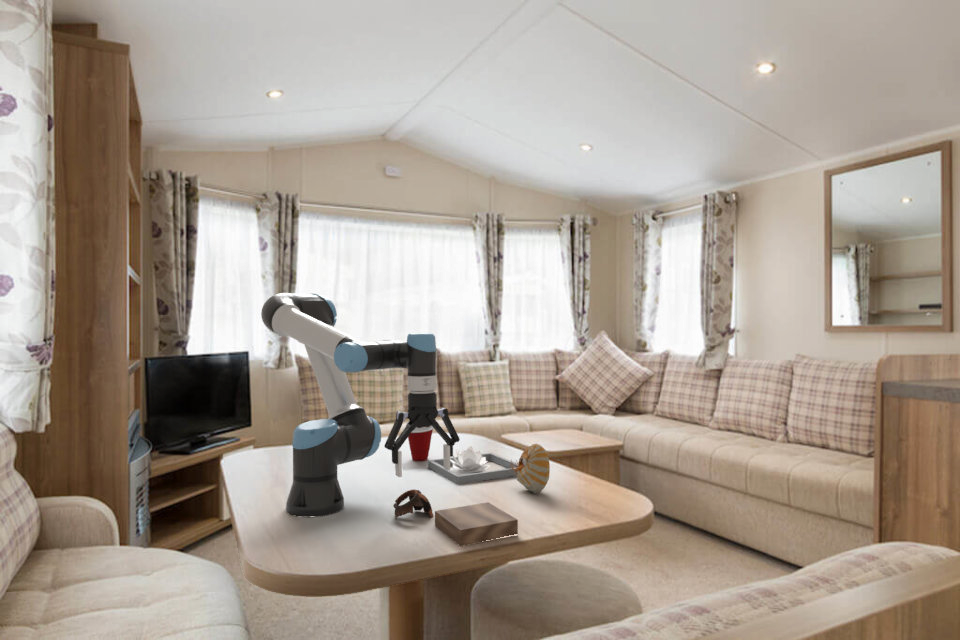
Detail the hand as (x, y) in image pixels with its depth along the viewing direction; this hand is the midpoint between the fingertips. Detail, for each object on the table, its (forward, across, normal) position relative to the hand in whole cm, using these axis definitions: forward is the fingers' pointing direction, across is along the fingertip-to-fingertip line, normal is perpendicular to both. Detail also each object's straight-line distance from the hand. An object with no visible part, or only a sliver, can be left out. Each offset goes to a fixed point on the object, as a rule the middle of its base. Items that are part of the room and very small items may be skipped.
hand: (423, 472), depth 155 cm
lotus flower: (+12, +31, +36) cm, 49 cm away
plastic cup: (+12, +23, +61) cm, 66 cm away
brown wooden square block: (+13, +7, -17) cm, 22 cm away
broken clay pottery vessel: (+13, 0, +2) cm, 13 cm away
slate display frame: (+12, +34, +36) cm, 51 cm away
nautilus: (+12, +38, +8) cm, 41 cm away
